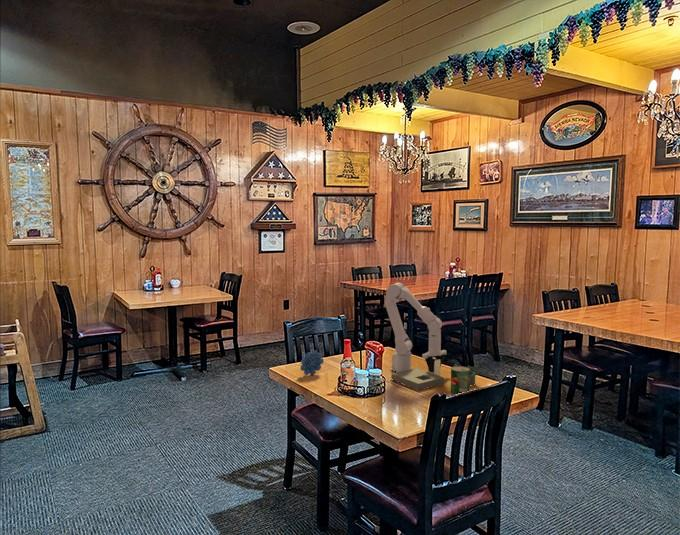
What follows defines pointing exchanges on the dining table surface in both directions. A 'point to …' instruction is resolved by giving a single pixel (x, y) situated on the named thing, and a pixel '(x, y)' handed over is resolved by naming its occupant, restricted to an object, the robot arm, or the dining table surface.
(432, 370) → the robot arm
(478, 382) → the dining table surface
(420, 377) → the well board
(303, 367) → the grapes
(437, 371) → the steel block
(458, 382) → the canned tomato
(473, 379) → the bracket
